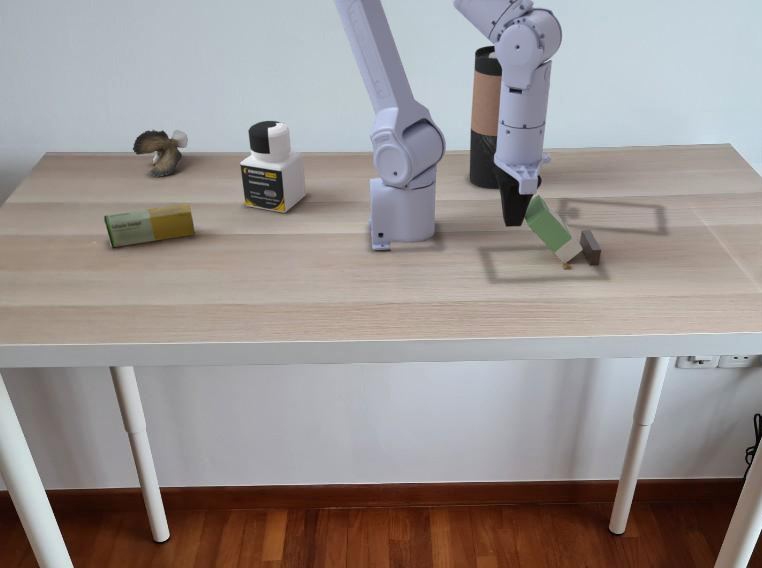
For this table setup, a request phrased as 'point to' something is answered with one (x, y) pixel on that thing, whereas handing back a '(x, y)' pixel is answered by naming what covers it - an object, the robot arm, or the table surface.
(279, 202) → the medicine bottle
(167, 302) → the table surface
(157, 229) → the medication box
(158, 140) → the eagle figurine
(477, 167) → the travel mug
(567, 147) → the table surface
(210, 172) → the table surface
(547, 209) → the block
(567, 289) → the table surface
